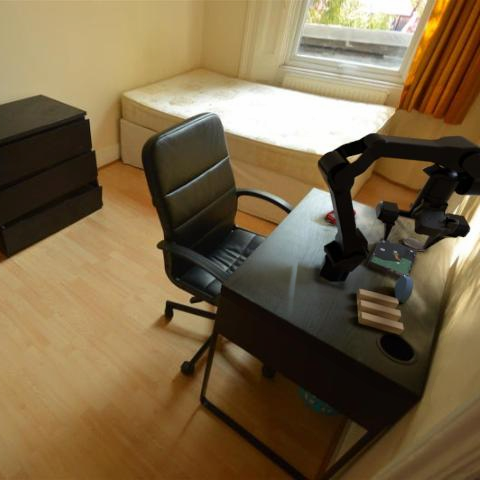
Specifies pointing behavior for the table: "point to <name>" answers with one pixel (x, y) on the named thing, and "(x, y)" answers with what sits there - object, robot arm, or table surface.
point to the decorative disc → (413, 244)
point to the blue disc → (403, 288)
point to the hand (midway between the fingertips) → (403, 244)
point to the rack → (379, 311)
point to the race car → (333, 217)
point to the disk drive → (392, 258)
